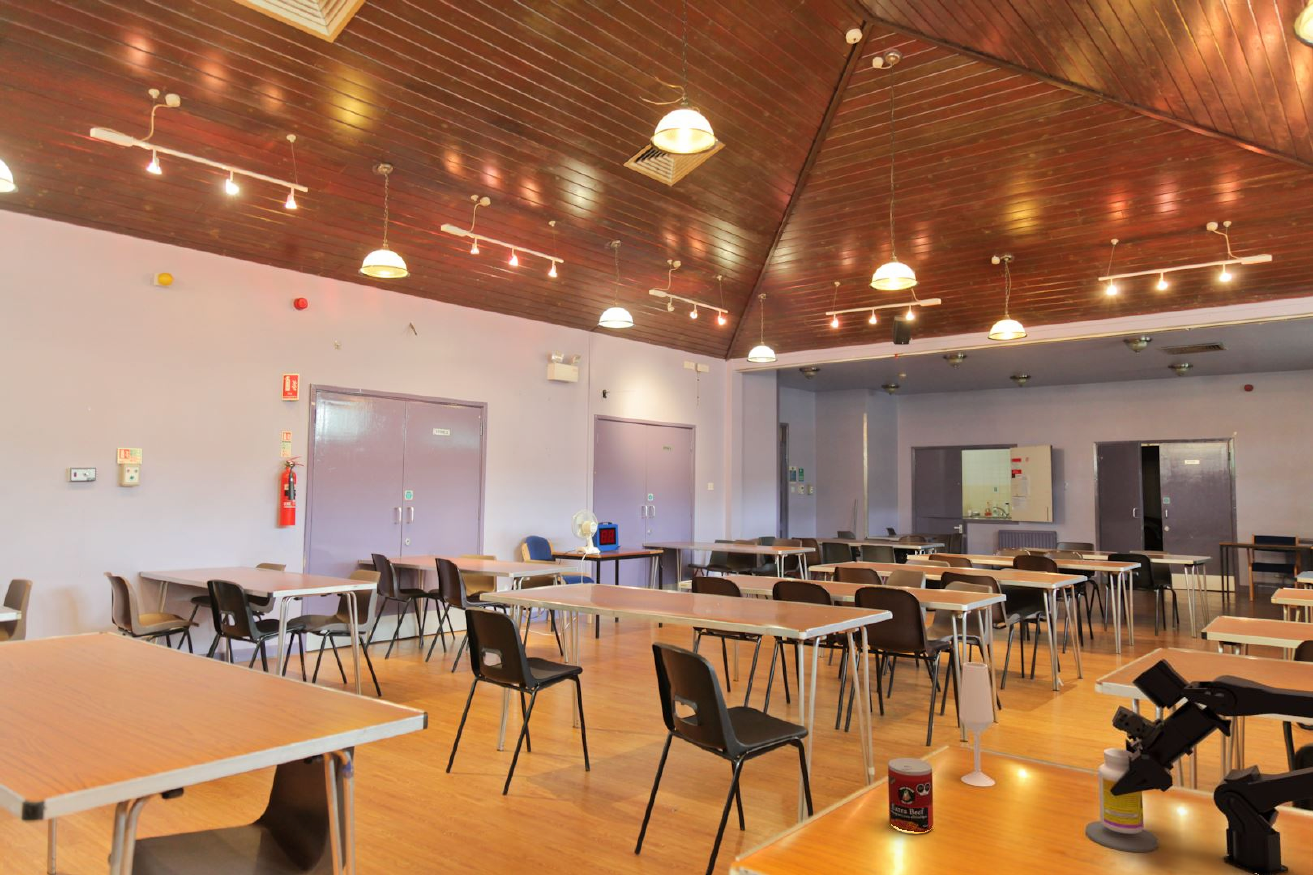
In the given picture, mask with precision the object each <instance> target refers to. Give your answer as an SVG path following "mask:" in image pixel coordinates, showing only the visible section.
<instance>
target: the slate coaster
mask: <svg viewBox="0 0 1313 875" xmlns="http://www.w3.org/2000/svg"><path fill="white" fill-rule="evenodd" d="M1085 834H1086V836H1087V838H1089V839H1090V840H1091V841H1093V842H1094V843H1096V844H1099V845H1102V846H1103V847H1106V848H1110V849H1112V850H1116V851H1117V850H1118V851H1121V852H1122V851H1123V852H1128V853H1150V852H1153V851H1155V850H1158V849H1157V848H1158V847H1159V840H1158V838H1157V836H1156V835H1155V834H1153V833H1152V832H1151V831H1149V830H1147V829H1144V828H1143V830H1142V831H1141V832H1139V833H1135V834H1127V833H1120V832H1116V831H1113V830H1110V829H1108V828H1106V827H1105V826H1104V825H1103V824H1102V823H1101V820H1098V821H1092V822H1089V823H1088V824H1087V825H1086V826H1085Z"/></svg>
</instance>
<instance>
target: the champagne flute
mask: <svg viewBox="0 0 1313 875" xmlns="http://www.w3.org/2000/svg"><path fill="white" fill-rule="evenodd" d="M961 677H962V680H961V690H960V691H961V692H960V707H959V719H960V721H961V722H962V724H963V725H964V726H965V727H966V728H967V729H968V731H970V732H971V733H973V745H974V746H973V747H974V749H973V750H974V751H973V753H974V754H973V758H974V771H972V772H970V773H968V774H965V775H963V776H962V777H961V778H960V780H961V781H962V782H964V783H965V784H968V785H970V786H976V787H991V786H994V785H996V782H995V780H994V779H993V778H991V777H989V776H988V775H986V774H985V773H984V772H982V771H981V770H982V769H981V767H982V765H981V764H982V763H981V734H983V733H984V732H986V731H987V730H988V729H989V728H990V727H991V725H993V722H994V719H995V718H994V711H993V703H992V695H991V694H992V693H991V687H990V678H989V669H988V664H987V663H982V662H971V661H970V662H963V664H962V676H961Z"/></svg>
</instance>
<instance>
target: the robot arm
mask: <svg viewBox="0 0 1313 875" xmlns="http://www.w3.org/2000/svg"><path fill="white" fill-rule="evenodd" d="M1131 683H1132V685H1134V686H1135V687H1136V688H1137V689H1138V690H1139V691H1140V692H1141V693H1142V694H1143V695H1145V697H1146V698H1147V699H1148V700H1149V701H1150V702H1151V703H1152V704H1154V705H1155V707H1157V709H1160V708H1161V709H1165V708H1166V709H1167V710H1170V709H1172V708H1173V707H1174V706H1176V704H1178V703H1179V702H1181V701H1182V699H1184V698H1185V699H1186V702H1184V703H1183V704H1182V705H1181V706H1179V707H1178V708H1176V709H1175V710H1174V711H1173V712H1172V713H1170V714H1169V715H1168V716H1167V717H1165V718H1164V719H1163V718H1162V717H1161V718H1160V717H1159V718H1156V719H1155V720H1154V721H1152V720H1150V719H1148V718H1146V717H1145V716H1143V715H1141V714H1139V713H1137V712H1135V711H1133V710H1131V709H1129V708H1126V707H1125V706H1122V705H1119V706H1118V707H1117V710H1116V712H1115V714H1114V716H1113V718H1112V720H1111V722H1112V725H1111V726H1112V727H1114V728H1115V729H1117V730H1119V731H1123V732H1124V733H1126V737H1127V738H1128V739H1127V738H1125V740H1124V743H1125V750H1126V751H1129V752H1131V753H1133V755H1132V756H1131V757H1130V756H1128V762H1129V768H1128V769H1127V770H1126V772H1125V773H1124V774H1123V775H1122V776H1121V777H1120V779H1119V780H1118V781H1117V782H1116V783H1115V784H1114V786H1113V787H1112V788H1111V789H1110V792H1111V793H1112V794H1113V795H1114V796H1118V795H1124V794H1129V793H1134V792H1140V791H1142V792H1146V791H1153V790H1156V791H1158V790H1160V791H1161V792H1162V793H1165V792H1167V791H1168V790H1169V789H1170V788H1171V787H1173V786H1174V784H1173V783H1174V781H1173V775H1172V773H1171V770H1173V769H1174V768H1175V766H1174V763H1175V762H1177V761H1178V760H1180V759H1181V758H1182V757H1184V756H1185V755H1187V756H1188V757H1190V756H1191V755H1192V754H1193V753H1194V751H1193V749H1194V748H1195V747H1196V746H1198V744H1200V743H1202V741H1204V740H1205V739H1207V738H1209V736H1210V735H1211V734H1213V733H1214V732H1216V731H1217V730H1219V731H1220V733H1222V734H1223V735H1225V737H1227V738H1230V737H1231V736H1232V730H1231V724H1232V722H1233V721H1232V719H1230V718H1229V717H1251V716H1261V715H1273V714H1274V715H1280V716H1281V715H1282V716H1290V717H1299V718H1307V719H1313V691H1312V690H1305V689H1304V690H1302V689H1293V688H1281V687H1274V686H1269V685H1266V684H1264V683H1260V682H1258V681H1255V680H1251V679H1247V678H1244V677H1243V678H1242V677H1240V676H1235V675H1229V674H1225V675H1224V674H1222V675H1218V676H1217V677H1215V678H1214V679H1213V680H1195V681H1194V680H1193V681H1191V682H1189V681H1187V680H1186V679H1185V678H1184V677H1183V676H1182V675H1181V674H1180V673H1179V672H1178V671H1177V670H1175V669H1174V667H1173V666H1172V664H1171V663H1170V662H1168V661H1167V660H1166V659H1165V658H1162V659H1160V660H1159V661H1158V662H1156V663H1155V664H1154V665H1152V666H1151V667H1150V668H1148V669H1146V670H1144V671H1142V673H1140V674H1139V675H1138V676H1137V677H1136V678H1135V679H1133V681H1132V682H1131ZM1202 706H1205V707H1202ZM1223 717H1228V718H1223ZM1130 740H1131V741H1130ZM1312 798H1313V766H1312V767H1306V768H1302V769H1297V770H1296V769H1295V770H1291V771H1286V772H1281V773H1275V774H1274V773H1270V774H1269V773H1262V772H1260V769H1259V766H1258V765H1257V764H1254V765H1251V766H1249V767H1247V768H1243V769H1236V768H1235V769H1234V768H1231V770H1230V771H1229V772H1228V773H1227V775H1226V776H1225V777H1223V779H1222V780H1221V781H1220V782H1219V783H1218V785H1217V786H1216V787H1215V789H1214V791H1213V801H1214V802H1213V803H1214V805H1215V806H1216V808H1217V809H1218V811H1220V812H1221V814H1223V815H1224V816H1225V817H1226V820H1227V828H1226V829H1225V835H1226V836H1225V837H1226V854H1227V855H1225V856H1222V861H1224V862H1226V863H1228V864H1231V865H1233V866H1235V867H1238V868H1240V869H1243V870H1245V871H1247V870H1248V872H1249V871H1250V873H1251V874H1254V873H1257V874H1259V875H1270V874H1271V875H1272V874H1273V875H1277V874H1281V873H1284V872H1288V871H1289V867H1288V866H1287V865H1285V864H1282V850H1281V849H1282V848H1281V832H1280V831H1277V830H1276V829H1275V828H1274V827H1273V826H1274V824H1275V823H1276V821H1277V819H1278V817H1279V814H1280V812H1279V811H1278V810H1277V809H1276V807H1279V806H1281V805H1283V804H1286V803H1290V802H1294V801H1295V802H1297V801H1302V800H1307V799H1312Z"/></svg>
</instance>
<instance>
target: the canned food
mask: <svg viewBox="0 0 1313 875" xmlns="http://www.w3.org/2000/svg"><path fill="white" fill-rule="evenodd" d="M887 769H888V771H887V776H888V777H887V778H888V779H887V780H888V781H887V782H888V786H887V787H888V820H889V824H890V823H891V824H892V825H893V826H896V827H898V828H899V829H902V830H907V831H914V832H925V831H927V830H930V829H931V828H932V829H933V827H932V826H933V825H934V796H933V793H934V792H933V791H934V790H933V766H932V764H931V763H929V762H927V761H925V760H922V759H919V758H913V757H912V758H911V757H898V758H893V759H891V760H889V761H888V768H887ZM891 824H890V825H891ZM932 829H931V830H932Z"/></svg>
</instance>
